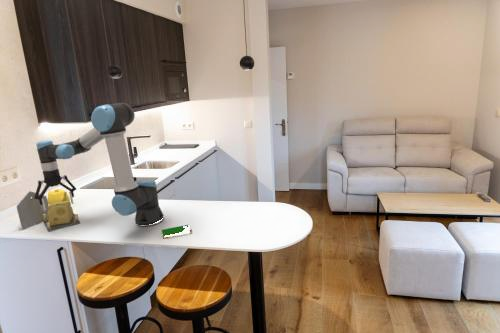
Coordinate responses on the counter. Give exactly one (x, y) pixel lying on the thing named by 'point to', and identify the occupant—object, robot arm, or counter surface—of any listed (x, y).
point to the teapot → (57, 196)
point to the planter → (31, 210)
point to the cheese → (60, 213)
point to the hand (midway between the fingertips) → (59, 206)
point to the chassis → (55, 227)
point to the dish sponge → (173, 230)
